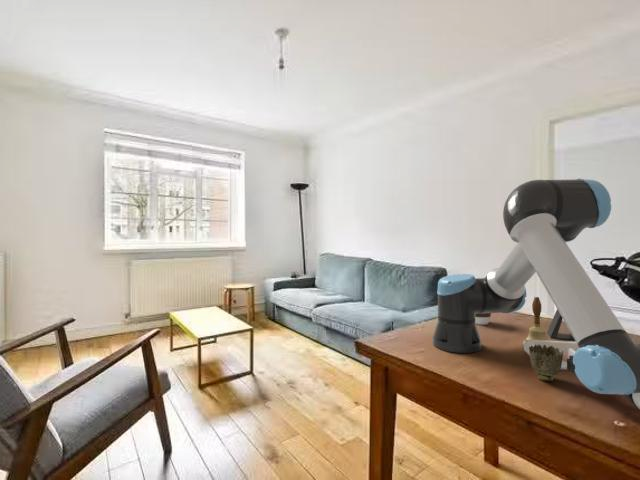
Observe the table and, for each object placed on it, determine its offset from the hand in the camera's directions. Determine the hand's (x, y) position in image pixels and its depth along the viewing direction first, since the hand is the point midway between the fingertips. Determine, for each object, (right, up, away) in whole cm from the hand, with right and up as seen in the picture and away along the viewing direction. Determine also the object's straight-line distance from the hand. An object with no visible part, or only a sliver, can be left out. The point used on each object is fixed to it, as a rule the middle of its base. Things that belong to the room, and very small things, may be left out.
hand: (601, 355), depth 88 cm
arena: (0, -6, +13) cm, 14 cm away
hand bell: (0, -5, +26) cm, 27 cm away
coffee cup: (-6, -4, +53) cm, 54 cm away
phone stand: (+14, -5, +34) cm, 37 cm away
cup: (-13, -7, +1) cm, 15 cm away
